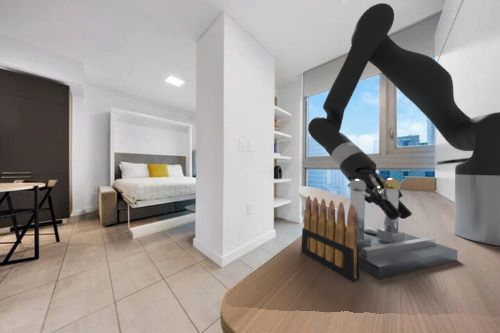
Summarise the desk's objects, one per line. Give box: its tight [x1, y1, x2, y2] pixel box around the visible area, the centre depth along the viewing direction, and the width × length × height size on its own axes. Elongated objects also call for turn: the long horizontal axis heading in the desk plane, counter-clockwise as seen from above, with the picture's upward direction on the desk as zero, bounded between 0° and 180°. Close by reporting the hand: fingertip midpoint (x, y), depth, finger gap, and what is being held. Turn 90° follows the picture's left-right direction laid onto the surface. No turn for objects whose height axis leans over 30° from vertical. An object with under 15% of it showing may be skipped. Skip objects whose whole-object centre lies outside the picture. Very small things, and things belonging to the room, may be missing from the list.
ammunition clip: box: [300, 195, 360, 283], centre depth 31 cm, size 11×2×12 cm, turn 30°
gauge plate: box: [358, 228, 458, 280], centre depth 36 cm, size 22×13×3 cm, turn 107°
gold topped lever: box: [365, 177, 406, 243], centre depth 39 cm, size 4×7×14 cm, turn 17°
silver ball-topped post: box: [348, 179, 371, 251], centre depth 36 cm, size 4×7×14 cm, turn 17°
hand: (401, 217), depth 35 cm, fingers open, 2 cm apart
